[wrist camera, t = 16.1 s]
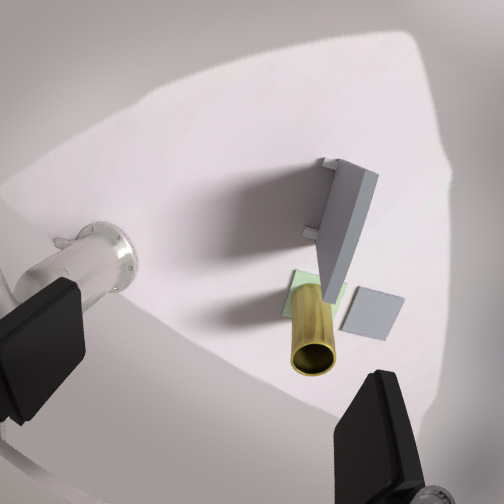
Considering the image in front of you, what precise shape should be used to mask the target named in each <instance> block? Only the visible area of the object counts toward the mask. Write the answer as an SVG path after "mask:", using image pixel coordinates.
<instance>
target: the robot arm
mask: <svg viewBox="0 0 504 504" xmlns="http://www.w3.org/2000/svg"><path fill="white" fill-rule="evenodd" d="M55 247H57V248H59V249H62V250H61V251H60V252H58V253H56V254H54V255H53V256H51V257H49V258H47V259H46V260H44V261H42V262H40V263H39V264H37V265H35V266H33V267H32V268H30V269H29V270H27V271H26V272H25V273H24V274H23V275H22V276H21V278H20V279H19V280H18V282H17V285H16V286H15V289H14V291H13V294H12V293H11V291H10V289H9V287H8V285H7V283H6V281H5V278H4V276H3V274H2V272H1V270H0V504H107V503H105V502H103V501H101V500H99V499H97V498H95V497H93V496H91V495H89V494H87V493H85V492H83V491H81V490H79V489H77V488H76V487H74V486H72V485H70V484H68V483H67V482H65V481H63V480H61V479H60V478H58V477H56V476H55V475H53V474H51V473H50V472H48V471H47V470H45V469H43V468H42V467H40V466H39V465H37V464H36V463H34V462H33V461H31V460H30V459H28V458H27V457H25V456H24V455H23V454H21V453H20V452H18V451H17V450H16V449H14V448H13V447H12V446H10V445H9V444H8V443H6V430H5V420H6V418H7V417H8V416H9V417H10V419H12V420H13V421H15V422H16V423H17V424H19V425H20V426H22V425H23V424H24V422H25V421H30V420H31V419H32V418H33V417H34V416H35V414H36V413H37V412H38V411H39V409H40V408H41V407H42V406H43V405H44V404H45V402H46V401H47V400H48V399H49V398H50V397H51V395H52V394H53V393H54V392H55V391H56V390H57V388H58V387H59V386H60V385H61V384H62V383H63V381H64V380H65V379H66V378H67V377H68V375H70V373H71V372H72V371H73V370H74V369H75V368H76V366H77V365H78V364H79V363H80V362H81V361H82V360H83V358H84V356H85V352H86V351H85V350H86V349H85V340H84V331H83V318H82V314H83V313H84V312H85V311H87V310H88V309H89V308H90V307H91V306H92V305H93V304H94V303H96V302H97V301H98V300H99V299H100V298H101V297H103V295H105V294H106V293H107V292H110V293H115V292H120V291H122V290H124V289H125V288H127V287H128V286H129V285H130V284H131V283H132V281H133V279H134V278H135V275H136V270H137V259H136V254H135V251H134V248H133V246H132V244H131V242H130V241H129V239H128V238H127V236H126V235H125V234H124V233H123V232H122V231H121V230H120V229H119V228H117V227H115V226H114V225H112V224H109V223H105V222H96V223H93V224H91V225H89V226H87V227H86V228H84V229H83V230H82V232H81V233H80V234H79V237H78V239H77V240H70V241H68V240H66V239H63V238H60V237H58V238H57V239H56V240H55ZM334 468H335V469H334V471H335V472H334V474H335V504H455V501H454V498H453V497H452V495H451V494H450V493H449V492H448V491H447V490H446V489H445V488H442V487H440V486H436V485H430V486H425V482H424V477H423V472H422V468H421V463H420V459H419V455H418V451H417V447H416V443H415V439H414V435H413V431H412V427H411V424H410V420H409V417H408V414H407V410H406V407H405V403H404V400H403V396H402V393H401V390H400V386H399V383H398V380H397V377H396V374H395V373H394V372H390V371H384V370H376V371H375V372H374V373H370V374H368V376H367V378H366V379H365V381H364V383H363V384H362V386H361V388H360V389H359V391H358V393H357V394H356V396H355V398H354V399H353V401H352V402H351V404H350V406H349V407H348V409H347V410H346V412H345V413H344V415H343V416H342V418H341V419H340V421H339V423H338V424H337V426H336V427H335V431H334Z"/></svg>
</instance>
